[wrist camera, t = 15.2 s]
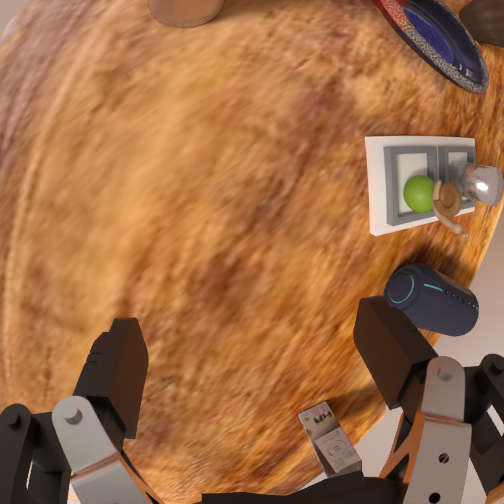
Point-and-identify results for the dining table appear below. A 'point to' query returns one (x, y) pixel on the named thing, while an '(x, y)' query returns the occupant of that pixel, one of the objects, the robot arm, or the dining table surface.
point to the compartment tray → (409, 175)
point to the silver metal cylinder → (477, 181)
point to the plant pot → (485, 21)
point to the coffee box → (329, 441)
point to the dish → (438, 40)
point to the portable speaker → (432, 300)
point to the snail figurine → (434, 199)
